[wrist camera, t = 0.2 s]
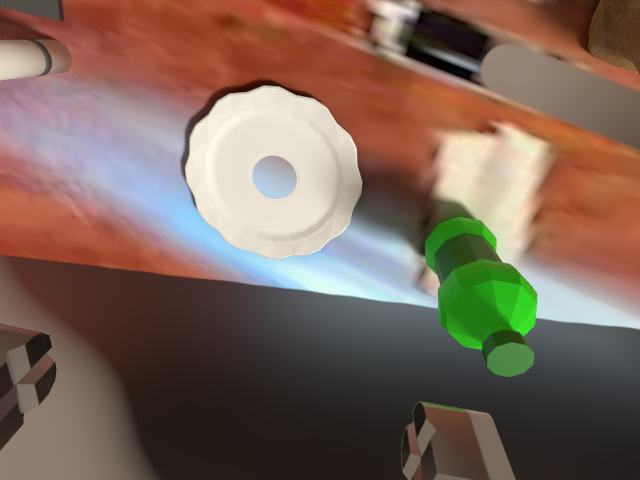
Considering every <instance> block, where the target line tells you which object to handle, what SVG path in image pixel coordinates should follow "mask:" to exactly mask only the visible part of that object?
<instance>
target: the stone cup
mask: <svg viewBox="0 0 640 480" xmlns="http://www.w3.org/2000/svg"><path fill="white" fill-rule="evenodd" d="M589 38H590V41H589V43H588V49H589V51H590V52H591V53H592V54H593V55H594V56H595V57H596V58H598V59H600V60H602V61H604V62H606V63H609V64H611V65H614V66H617V67H620V68H624V69H629V70H633V71H638V72H639V74H640V0H601V1H600V3H599V5H598V7H597V9H596V11H595V14H594V16H593V19H592V21H591V24H590V27H589Z"/></svg>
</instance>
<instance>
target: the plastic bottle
mask: <svg viewBox="0 0 640 480" xmlns="http://www.w3.org/2000/svg"><path fill="white" fill-rule="evenodd" d="M496 241H497V239H496V238H495V236H494V235H493V234H492V233H491V231H490V230H489V229H488V228H487V227H486V226H485V225H484V224H483V223H482V221H480V220H475V219H469V218H464V217H458V216H457V217H454V218H452V219H449V220H446V221H444V222H441V223H439V224H437V226H436V227H435V228H434V230H433V231H432V233H431V234H430V235H429V237H428V238H427V239H426V241H425V255H426V263H427V265H428V266H429V267H430V268H431V269H432V270H433V271H434V272H435V273H436V274H437V275H438V278H439V282H440V285H441V286H440V287H439V288H438V308H439V320H440V323H441V325H442V326H443V327H444V328H445V329H446V330H447V331H448V332H449V333H450V334H451V335H452V336H453V337H454V338H455V339H456V340H457V341H458V342H459V343H461V344H462V345H463V346H465V347H470V348H476V349H481V350H482V354H483V357H484V360H485V362H486V365H487V367H488V368H489V369H490V370H491V371H492V372H493V373H494V374H497V375H502V376H507V377H510V376H514V375H518V374H522V373H524V372H525V371H526V370H527V369H528V368H529V367H531V366H532V365H533V361H534V352H533V350H532V348H531V347H530V345H529V343H528V341H527V340H526V339H525V338H524V335H525V334H526V333H527V332H528V331H529V330H530V329H531V328H532V327H534V325H535V319H536V309H537V293H536V292H535V290H534V289H533V287H532V286H531V285H530V284H529V283H528V282H527V281H526V280H525V278H524V277H523V276H522V275H521V274H520V273H519V272H518V271H517V270H516V269H515V268H514V267H513V266H512V265H510V264H507V263H502V261H501V259H500V258H499V256H498V255H497V253H496Z"/></svg>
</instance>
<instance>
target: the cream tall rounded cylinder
mask: <svg viewBox="0 0 640 480" xmlns="http://www.w3.org/2000/svg"><path fill="white" fill-rule="evenodd" d="M71 63H72V60H71V55H70V53H69V51H68V49H67V48H66V47H65V45H64V44H62V43H61V42H59V41H57V40H53V39H47V40H33V39H21V40H0V80H6V79H14V78H23V77H31V76H43V75H47V74H56V73H64V72H66V71H68V70H69V69H70V67H71Z"/></svg>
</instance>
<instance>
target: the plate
mask: <svg viewBox="0 0 640 480" xmlns="http://www.w3.org/2000/svg"><path fill="white" fill-rule="evenodd" d="M266 156H279V157H282V158H284V159H286V160H287V161H288V162H289V163H291V165H292V166H293V167H294V169H295V172H296V175H297V183H296V187H295V189H294V191H293V192H292V193H291V194H290V195H288V196H287V197H285V198H282V199H271V198H268V197H266V196H264V195H262V194H261V193H260V192H259V191H258V190H257V189H256V187H255V185H254V183H253V179H252V171H253V168H254V166H255V164H256V163H257V162H258V161H259V160H260V159H262V158H263V157H266ZM185 175H186V182H187V184H188V186H189V188H190V189H191V191H192V193H193V195H194V199H195V203H196V207H197V211H198V212H199V214H200V215H201V216H202V218H203V219H204V221H205V222H206V223H208V224H209V225H210V226H212V227H213V228H215V229H216V230H217V231H218V232H219V233H220V234H221V235H222V236H223V238H224V239H225V240H226V241H227V242H228V243H230V244H231V245H233V246H235V247H236V248H238V249H242V250H247V251H252V252H255V253H257V254H260V255H262V256H264V257H266V258H274V259H281V258H285V257H288V256H292V255H309V254H311V253H314V252H316V251H319V250H320V249H321V248H322V247H323V246H324V245H325V244H326V243H327V242H328V241H329V240H331V239H332V238H334V237H336V236H338V235H339V234H341V233H343V231H344V230H345V229H346V227H347V226H348V225H349V224H350V221H351V216H352V212H353V208H354V206H355V205H356V203H357V201H358V199H359V198H360V196H361V191H362V178H361V175H360V172H359V169H358V166H357V148H356V146H355V144H354V142H353V140H352V138H351V135H350V134H349V133H347V132H346V131H345V130H344V129H343V128H342V127H341V126H340V125H339V124H337V122H336V121H335V119H334V118H333V116H332V115H331V113H330V112H329V110H328V108H327V107H325V106H324V105H323V104H321V103H320V102H318V101H317V100H315V99H313V98H308V97H303V96H298V95H295V94H293V93H291V92H289V91H287V90H285V89H283V88H281V87H279V86H261V87H259V88H256V89H254V90H251V91H249V92H241V93H229V94H228V95H226V96H224V97H223V98H221V99H219V100H217V102H216V103H215V105H214V106H213V108H212V109H211V111H210V112H209V114H208V115H207V116H206V117H204V118H203V119H202V120H200V121H199V122H198V123H197V124H195V126H194V128H193V130H192V133H191V135H190V137H189V156H188V159H187V162H186V165H185Z"/></svg>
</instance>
